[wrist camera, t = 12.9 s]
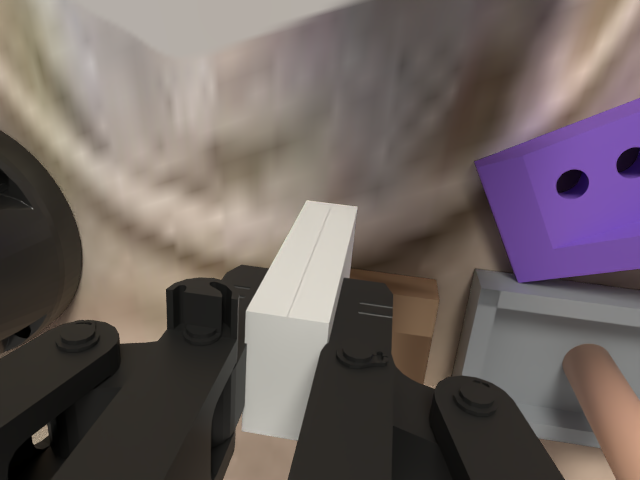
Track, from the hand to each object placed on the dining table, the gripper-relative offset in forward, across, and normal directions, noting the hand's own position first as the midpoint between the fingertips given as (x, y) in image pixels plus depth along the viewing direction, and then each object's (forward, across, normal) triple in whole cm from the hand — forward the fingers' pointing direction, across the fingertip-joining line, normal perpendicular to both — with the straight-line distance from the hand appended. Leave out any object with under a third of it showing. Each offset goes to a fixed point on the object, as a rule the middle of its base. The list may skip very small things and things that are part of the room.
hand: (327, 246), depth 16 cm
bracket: (+14, +13, 0) cm, 19 cm away
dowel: (+13, +14, -10) cm, 22 cm away
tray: (+14, +14, -10) cm, 22 cm away
